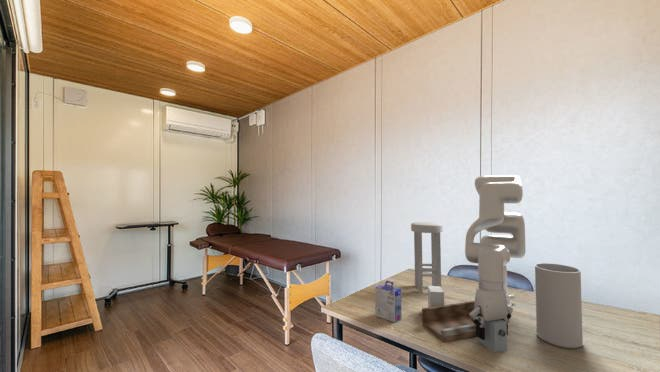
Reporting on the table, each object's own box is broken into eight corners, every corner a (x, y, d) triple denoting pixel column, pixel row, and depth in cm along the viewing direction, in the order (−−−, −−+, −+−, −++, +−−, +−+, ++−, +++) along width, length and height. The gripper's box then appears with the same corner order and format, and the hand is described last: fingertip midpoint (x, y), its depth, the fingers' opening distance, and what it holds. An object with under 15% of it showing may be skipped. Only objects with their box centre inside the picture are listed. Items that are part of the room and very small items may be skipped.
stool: (410, 284, 160) (409, 221, 161) (439, 285, 158) (438, 222, 159) (414, 293, 145) (413, 225, 146) (446, 295, 143) (445, 225, 143)
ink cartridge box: (402, 318, 117) (401, 283, 117) (395, 323, 113) (395, 286, 113) (381, 311, 124) (381, 278, 124) (374, 316, 119) (374, 281, 120)
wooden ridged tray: (480, 315, 119) (479, 300, 119) (507, 330, 106) (507, 312, 106) (422, 325, 111) (421, 308, 111) (444, 342, 98) (444, 323, 98)
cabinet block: (489, 339, 100) (489, 313, 100) (509, 351, 92) (509, 323, 93) (478, 341, 99) (477, 315, 99) (497, 353, 91) (497, 325, 91)
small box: (444, 318, 117) (444, 292, 117) (430, 317, 118) (430, 291, 118) (441, 310, 125) (440, 286, 125) (427, 309, 126) (427, 285, 126)
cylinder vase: (569, 353, 91) (567, 274, 91) (528, 335, 102) (527, 265, 103) (590, 344, 96) (588, 269, 96) (549, 328, 107) (548, 261, 108)
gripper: (501, 279, 102) (502, 327, 102) (461, 283, 97) (462, 334, 97) (520, 285, 95) (522, 337, 95) (479, 290, 90) (480, 345, 90)
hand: (492, 335), depth 96 cm, fingers open, 9 cm apart
